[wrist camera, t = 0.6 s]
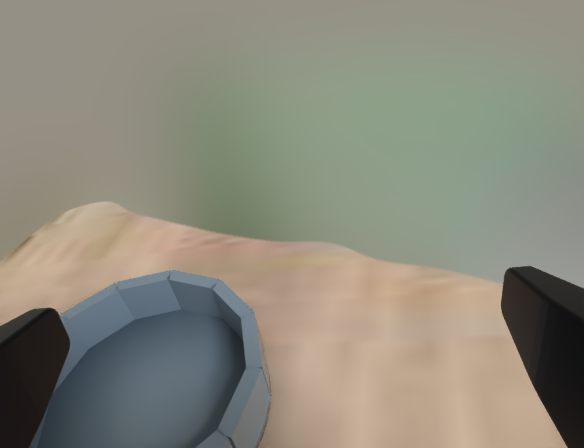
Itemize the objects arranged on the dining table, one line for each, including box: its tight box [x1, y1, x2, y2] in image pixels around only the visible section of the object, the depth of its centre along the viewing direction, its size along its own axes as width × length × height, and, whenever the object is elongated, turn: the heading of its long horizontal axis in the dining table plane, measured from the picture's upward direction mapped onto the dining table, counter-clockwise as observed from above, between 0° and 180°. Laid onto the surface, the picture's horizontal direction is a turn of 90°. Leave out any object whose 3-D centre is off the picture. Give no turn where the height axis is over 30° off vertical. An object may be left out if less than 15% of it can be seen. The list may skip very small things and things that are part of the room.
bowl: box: [29, 270, 271, 448], centre depth 23 cm, size 14×14×4 cm
